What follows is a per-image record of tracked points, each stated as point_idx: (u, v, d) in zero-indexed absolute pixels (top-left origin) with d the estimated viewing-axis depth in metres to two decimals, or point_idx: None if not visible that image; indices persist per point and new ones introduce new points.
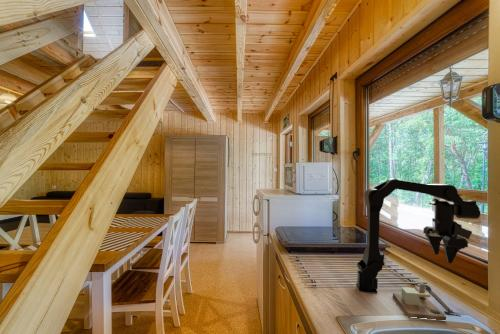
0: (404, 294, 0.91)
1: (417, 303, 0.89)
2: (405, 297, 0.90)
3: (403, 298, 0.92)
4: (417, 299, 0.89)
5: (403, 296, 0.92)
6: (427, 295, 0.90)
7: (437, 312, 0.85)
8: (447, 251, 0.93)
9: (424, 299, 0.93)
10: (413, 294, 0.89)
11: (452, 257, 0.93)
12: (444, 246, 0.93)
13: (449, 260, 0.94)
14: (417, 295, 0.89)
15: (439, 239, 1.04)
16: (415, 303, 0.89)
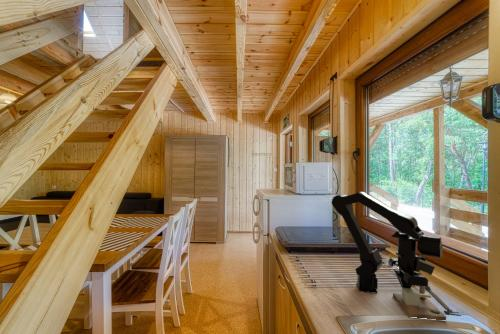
0: (404, 294, 0.91)
1: (417, 304, 0.89)
2: (406, 298, 0.90)
3: (403, 298, 0.91)
4: (417, 299, 0.89)
5: (403, 296, 0.91)
6: (427, 295, 0.90)
7: (437, 312, 0.85)
8: (403, 283, 0.93)
9: (424, 299, 0.93)
10: (414, 294, 0.89)
11: None
12: (400, 278, 0.93)
13: None
14: (417, 295, 0.89)
15: None
16: (415, 304, 0.89)
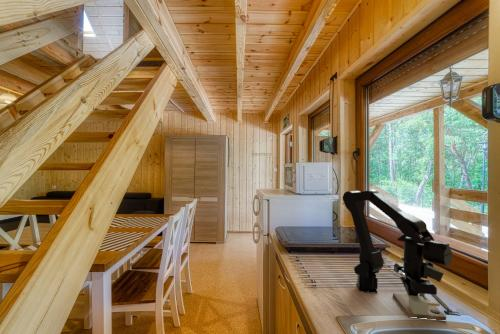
0: (411, 303, 0.85)
1: (425, 313, 0.83)
2: (413, 307, 0.84)
3: (410, 307, 0.86)
4: (425, 308, 0.83)
5: (410, 305, 0.86)
6: (436, 304, 0.84)
7: (437, 312, 0.85)
8: (409, 290, 0.88)
9: None
10: (421, 303, 0.83)
11: None
12: (406, 285, 0.88)
13: None
14: (425, 304, 0.83)
15: None
16: (423, 313, 0.83)
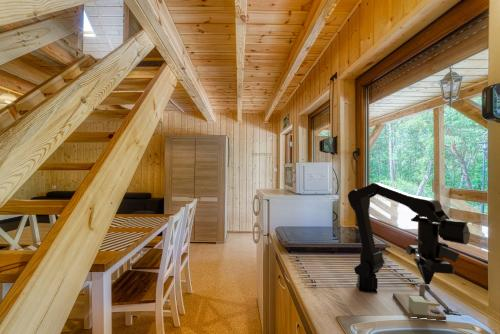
0: (411, 303, 0.85)
1: (425, 313, 0.83)
2: (413, 307, 0.84)
3: (410, 307, 0.86)
4: (425, 308, 0.83)
5: (410, 305, 0.86)
6: (436, 304, 0.84)
7: (437, 312, 0.85)
8: (424, 271, 0.85)
9: None
10: (421, 303, 0.83)
11: (429, 278, 0.85)
12: (420, 266, 0.85)
13: (426, 281, 0.86)
14: (425, 304, 0.83)
15: None
16: (423, 313, 0.83)
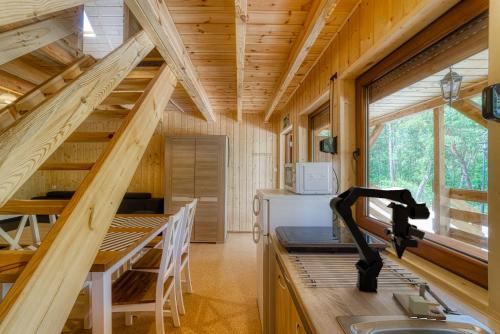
0: (411, 303, 0.85)
1: (425, 313, 0.83)
2: (413, 307, 0.84)
3: (410, 307, 0.86)
4: (425, 308, 0.83)
5: (410, 305, 0.86)
6: (436, 304, 0.84)
7: (437, 312, 0.85)
8: (396, 248, 1.03)
9: None
10: (421, 303, 0.83)
11: (401, 253, 1.03)
12: (393, 243, 1.03)
13: (398, 256, 1.04)
14: (425, 304, 0.83)
15: None
16: (423, 313, 0.83)
